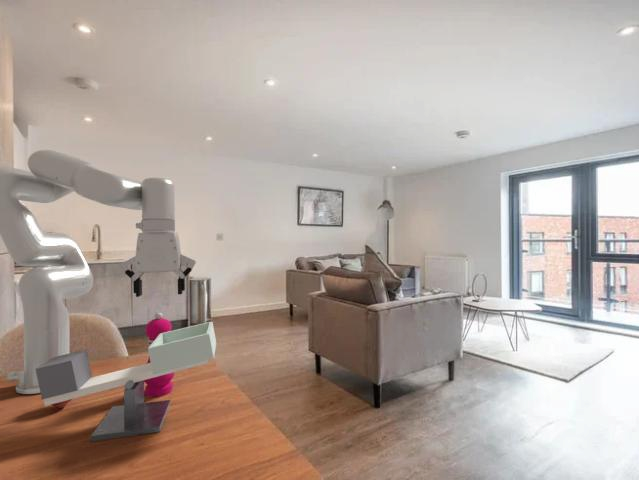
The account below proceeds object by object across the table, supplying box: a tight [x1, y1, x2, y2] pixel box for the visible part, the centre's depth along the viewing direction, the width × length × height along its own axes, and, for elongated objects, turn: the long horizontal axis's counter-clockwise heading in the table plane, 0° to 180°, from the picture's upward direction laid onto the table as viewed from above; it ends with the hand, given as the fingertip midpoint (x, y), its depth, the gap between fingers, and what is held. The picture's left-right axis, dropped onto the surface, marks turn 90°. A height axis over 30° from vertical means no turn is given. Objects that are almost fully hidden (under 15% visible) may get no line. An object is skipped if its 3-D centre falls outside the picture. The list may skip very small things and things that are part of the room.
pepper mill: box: [144, 312, 175, 398], centre depth 85 cm, size 7×7×20 cm
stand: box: [90, 380, 171, 442], centre depth 71 cm, size 12×12×8 cm
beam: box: [36, 321, 217, 407], centre depth 71 cm, size 32×12×8 cm, turn 105°
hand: (160, 294), depth 85 cm, fingers open, 9 cm apart
